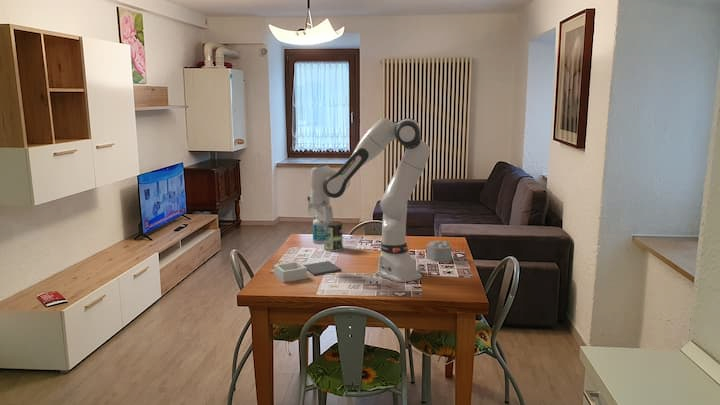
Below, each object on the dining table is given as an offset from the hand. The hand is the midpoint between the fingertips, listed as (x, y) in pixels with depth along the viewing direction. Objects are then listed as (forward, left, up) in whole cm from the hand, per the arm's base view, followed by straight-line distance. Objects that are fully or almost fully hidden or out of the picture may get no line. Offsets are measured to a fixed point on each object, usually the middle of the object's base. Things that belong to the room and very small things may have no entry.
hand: (320, 228), depth 262 cm
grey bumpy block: (-15, -59, -20) cm, 64 cm away
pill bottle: (0, 0, -7) cm, 7 cm away
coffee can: (+28, -20, -20) cm, 40 cm away
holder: (-3, +17, -20) cm, 27 cm away
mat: (0, 0, -20) cm, 20 cm away
